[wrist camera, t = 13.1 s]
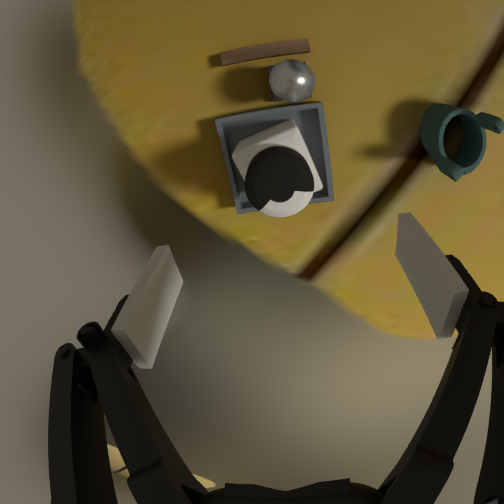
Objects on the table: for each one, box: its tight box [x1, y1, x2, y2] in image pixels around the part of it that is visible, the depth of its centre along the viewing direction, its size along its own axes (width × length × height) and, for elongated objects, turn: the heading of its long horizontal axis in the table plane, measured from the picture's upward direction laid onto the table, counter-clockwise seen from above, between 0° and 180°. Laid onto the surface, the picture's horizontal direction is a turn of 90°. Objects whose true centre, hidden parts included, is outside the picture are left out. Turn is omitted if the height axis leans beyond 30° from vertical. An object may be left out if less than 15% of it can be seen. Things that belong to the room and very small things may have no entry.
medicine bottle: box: [232, 119, 323, 217], centre depth 29 cm, size 7×7×12 cm
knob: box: [267, 59, 315, 102], centre depth 27 cm, size 5×5×6 cm
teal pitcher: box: [420, 104, 504, 182], centre depth 26 cm, size 9×9×9 cm
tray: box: [215, 101, 334, 214], centre depth 33 cm, size 12×12×2 cm
